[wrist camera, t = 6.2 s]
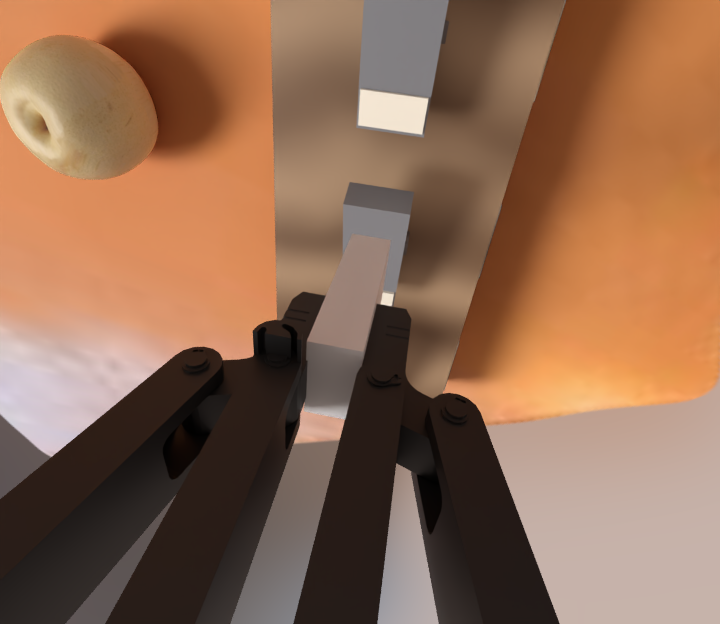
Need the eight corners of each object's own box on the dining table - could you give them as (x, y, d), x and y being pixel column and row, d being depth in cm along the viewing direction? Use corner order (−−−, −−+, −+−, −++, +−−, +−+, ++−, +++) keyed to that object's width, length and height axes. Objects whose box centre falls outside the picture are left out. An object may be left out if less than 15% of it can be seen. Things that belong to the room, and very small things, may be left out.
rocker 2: (349, 181, 21) (342, 206, 20) (414, 191, 21) (409, 216, 20) (347, 281, 28) (341, 302, 27) (396, 289, 28) (392, 311, 27)
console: (300, -131, 21) (253, -174, 16) (578, -102, 20) (624, -137, 15) (295, 354, 40) (272, 407, 35) (437, 380, 39) (436, 438, 34)
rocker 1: (377, -112, 15) (369, -107, 14) (467, -103, 15) (466, -97, 14) (362, 113, 21) (355, 129, 20) (426, 122, 21) (423, 139, 20)
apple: (203, 126, 29) (126, 207, 26) (138, 131, 33) (65, 201, 30) (110, -5, 23) (-3, 80, 20) (46, 22, 27) (-55, 95, 24)
